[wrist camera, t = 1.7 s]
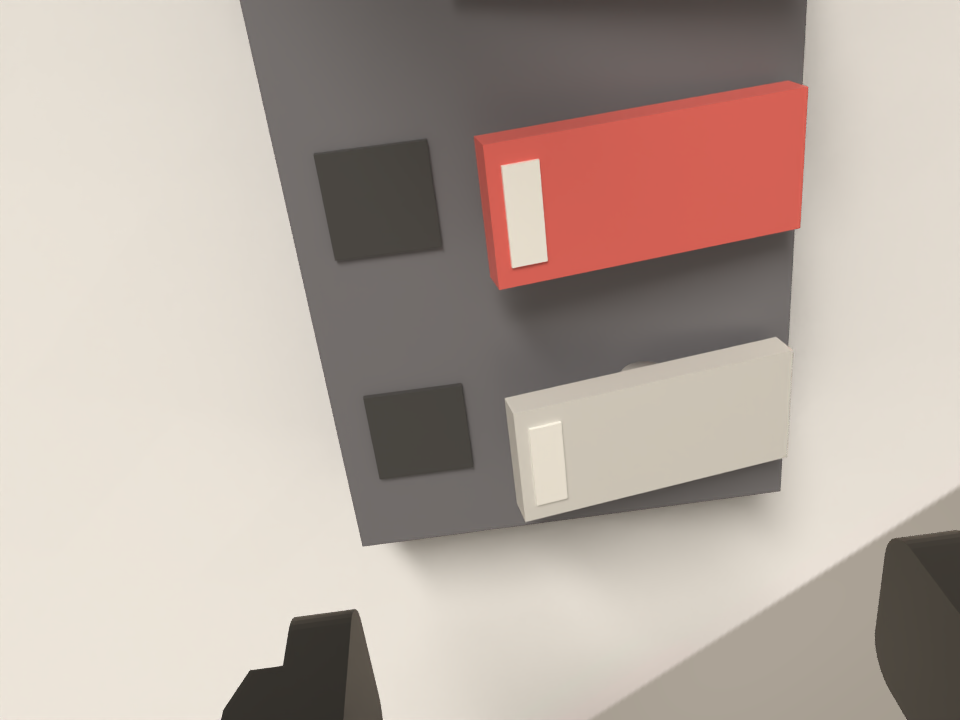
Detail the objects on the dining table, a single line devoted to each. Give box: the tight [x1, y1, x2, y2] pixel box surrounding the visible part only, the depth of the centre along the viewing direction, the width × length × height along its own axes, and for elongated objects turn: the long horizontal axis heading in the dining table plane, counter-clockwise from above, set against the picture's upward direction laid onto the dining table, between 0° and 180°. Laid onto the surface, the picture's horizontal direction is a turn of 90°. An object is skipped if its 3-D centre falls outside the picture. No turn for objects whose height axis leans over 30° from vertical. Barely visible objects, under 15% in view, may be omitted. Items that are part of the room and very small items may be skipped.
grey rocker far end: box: [505, 337, 793, 522], centre depth 29 cm, size 9×4×2 cm, turn 97°
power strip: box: [240, 0, 807, 546], centre depth 28 cm, size 15×25×4 cm, turn 7°
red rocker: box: [474, 80, 808, 290], centre depth 25 cm, size 9×4×2 cm, turn 97°
